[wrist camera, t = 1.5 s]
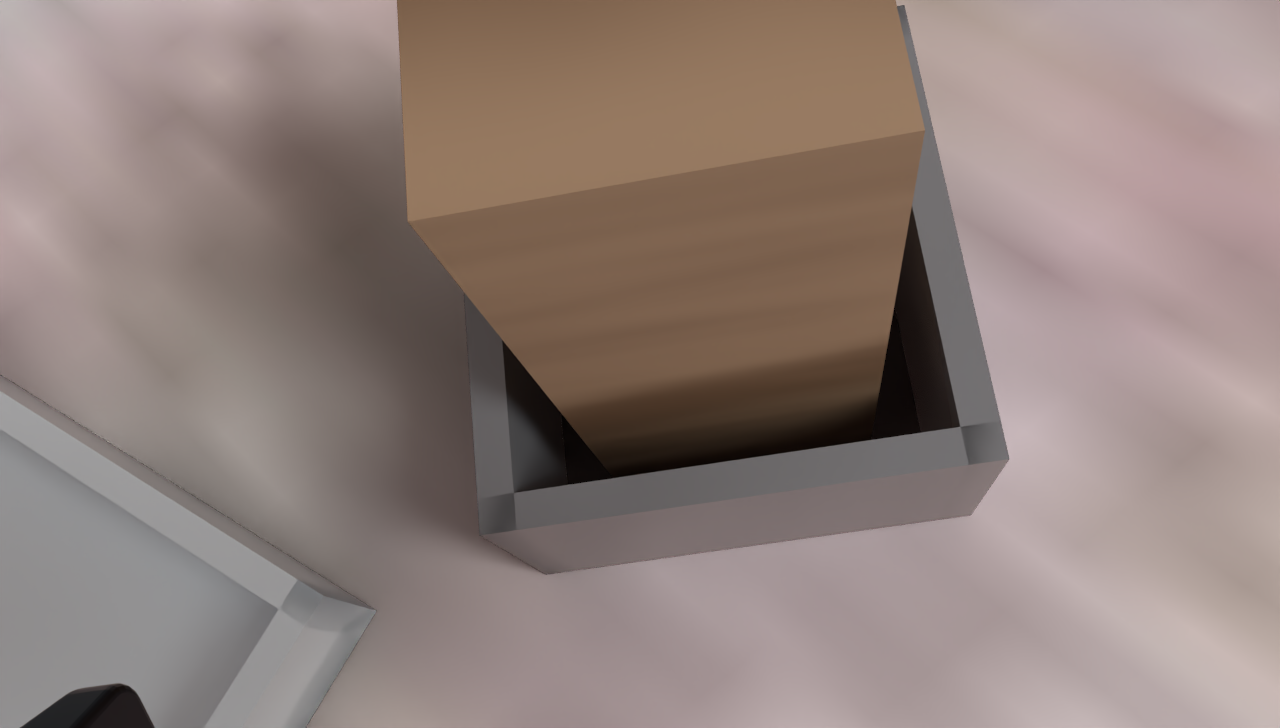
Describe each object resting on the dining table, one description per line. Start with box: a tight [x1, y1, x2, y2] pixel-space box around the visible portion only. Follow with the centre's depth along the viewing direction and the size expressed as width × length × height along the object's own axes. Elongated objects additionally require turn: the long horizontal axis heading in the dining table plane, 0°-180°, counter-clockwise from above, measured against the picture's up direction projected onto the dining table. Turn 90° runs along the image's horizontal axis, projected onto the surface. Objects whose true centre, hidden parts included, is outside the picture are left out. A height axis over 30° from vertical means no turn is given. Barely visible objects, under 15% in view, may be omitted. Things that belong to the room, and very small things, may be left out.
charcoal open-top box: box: [464, 5, 1009, 574], centre depth 20 cm, size 8×8×4 cm
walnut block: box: [397, 0, 925, 478], centre depth 17 cm, size 5×5×12 cm
